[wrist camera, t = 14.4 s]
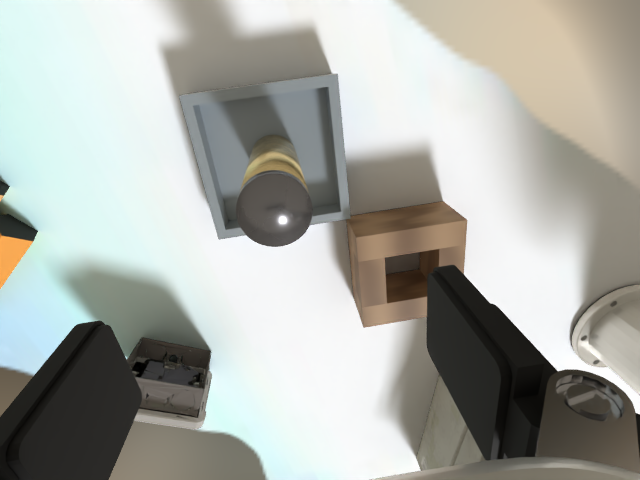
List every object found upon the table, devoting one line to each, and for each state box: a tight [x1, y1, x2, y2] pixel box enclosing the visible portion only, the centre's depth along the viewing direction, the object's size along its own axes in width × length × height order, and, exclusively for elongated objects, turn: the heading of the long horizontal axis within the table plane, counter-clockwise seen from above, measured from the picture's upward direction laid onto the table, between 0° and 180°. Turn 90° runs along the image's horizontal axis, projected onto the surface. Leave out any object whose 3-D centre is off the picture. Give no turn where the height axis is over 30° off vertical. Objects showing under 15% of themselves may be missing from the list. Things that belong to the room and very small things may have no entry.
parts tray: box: [179, 74, 351, 239], centre depth 31 cm, size 12×12×3 cm
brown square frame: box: [346, 201, 467, 328], centre depth 36 cm, size 10×10×5 cm
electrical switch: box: [127, 338, 212, 430], centre depth 36 cm, size 9×5×9 cm, turn 69°
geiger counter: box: [417, 374, 486, 471], centre depth 42 cm, size 14×6×25 cm
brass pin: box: [236, 135, 313, 247], centre depth 25 cm, size 4×4×14 cm
